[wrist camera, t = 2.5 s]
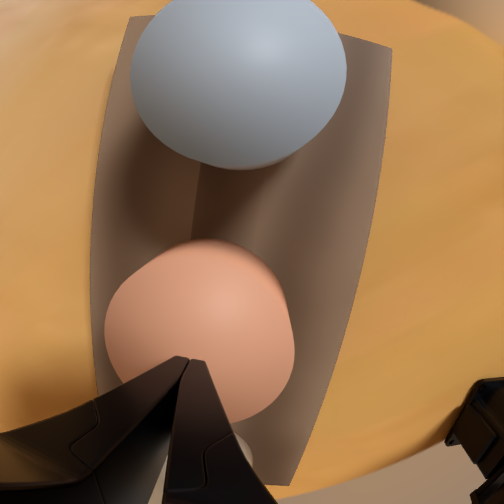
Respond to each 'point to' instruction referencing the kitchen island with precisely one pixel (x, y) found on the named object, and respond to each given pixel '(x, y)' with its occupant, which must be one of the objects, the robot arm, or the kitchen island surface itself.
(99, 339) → the button board
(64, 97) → the kitchen island surface
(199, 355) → the peach rounded lump
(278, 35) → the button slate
